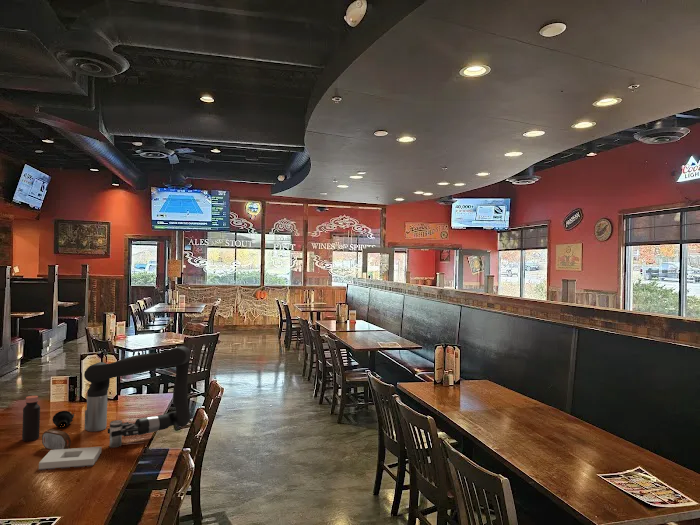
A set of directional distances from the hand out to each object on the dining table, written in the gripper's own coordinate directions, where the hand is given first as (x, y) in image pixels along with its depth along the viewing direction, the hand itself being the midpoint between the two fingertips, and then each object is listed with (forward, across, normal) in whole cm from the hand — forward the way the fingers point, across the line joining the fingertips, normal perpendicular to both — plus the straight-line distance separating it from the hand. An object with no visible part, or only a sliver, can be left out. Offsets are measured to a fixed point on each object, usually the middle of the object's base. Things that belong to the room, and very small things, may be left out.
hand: (109, 432), depth 220 cm
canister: (-3, 0, +6) cm, 7 cm away
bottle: (+25, -34, +7) cm, 43 cm away
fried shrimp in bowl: (+7, -47, +7) cm, 48 cm away
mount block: (+17, +7, +6) cm, 20 cm away
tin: (+19, -12, +7) cm, 24 cm away
